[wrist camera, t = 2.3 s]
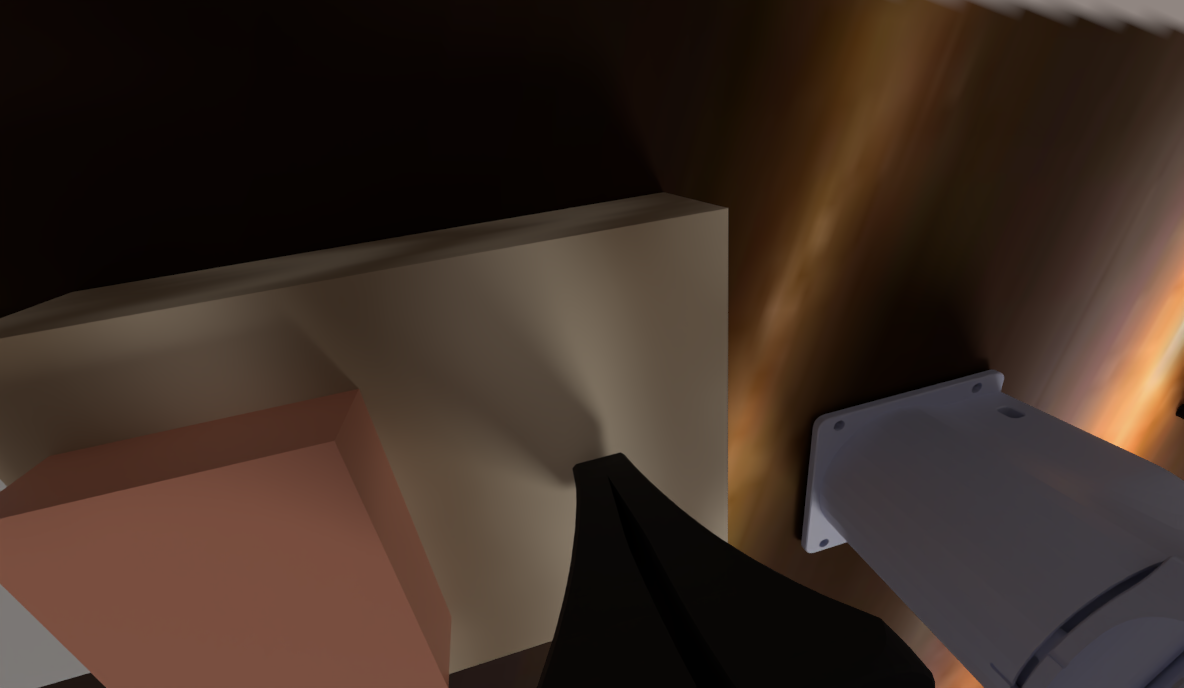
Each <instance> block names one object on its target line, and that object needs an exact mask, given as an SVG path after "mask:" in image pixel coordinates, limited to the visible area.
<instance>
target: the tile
mask: <svg viewBox="0 0 1184 688" xmlns="http://www.w3.org/2000/svg"><path fill="white" fill-rule="evenodd" d="M0 584H1V585H2V586H3V587H4V588H5V589H6V590H7V591H8V592H9V593H10V594H11V595H12V596H13V597H14V598H15V599H16V600H17V601H18V602H19V603H20V604H21V605H22V606H23V607H24V608H25V609H27V610H28V611H29V612H30V613H31V614H32V615H33V616H34V617H35V618H36V619H37V620H38V621H39V622H40V623H41V624H42V625H43V626H44V627H45V628H46V629H47V630H48V631H49V632H50V633H51V634H52V635H53V636H54V637H55V638H56V639H57V640H58V641H59V642H60V643H61V644H62V645H63V646H64V647H65V648H66V649H67V650H68V651H69V652H70V653H72V654H73V655H74V656H75V657H76V658H77V659H78V660H79V661H80V662H81V663H82V664H83V665H84V666H85V667H86V668H87V669H88V670H89V671H90V672H91V673H92V674H93V675H94V676H95V677H96V678H97V679H98V680H99V681H100V682H101V683H102V684H103V685H104V686H105V687H106V688H448V683H449V662H450V641H451V620H452V617H451V614H450V612H449V609H448V607H447V604H446V602H445V600H444V597H443V595H442V592H441V590H440V587H439V585H438V582H437V580H436V577H435V575H434V572H433V570H432V568H431V565H430V563H429V560H428V558H427V555H426V553H425V550H424V548H423V545H422V543H421V540H420V538H419V535H418V533H417V531H416V528H415V526H414V523H413V521H412V518H411V516H410V513H409V511H408V508H407V506H406V503H405V501H404V498H403V496H402V494H401V491H400V489H399V486H398V484H397V481H396V479H395V476H394V474H393V471H392V469H391V466H390V464H389V462H388V459H387V457H386V454H385V452H384V449H383V447H382V444H381V442H380V439H379V437H378V434H377V432H376V429H375V427H374V425H373V422H372V420H371V417H370V415H369V412H368V410H367V407H366V405H365V402H364V400H363V397H362V395H361V392H360V390H359V389H356V390H351V391H346V392H342V393H337V394H333V395H328V396H323V397H319V398H314V399H310V400H305V401H300V402H296V403H291V404H287V405H282V406H277V407H273V408H268V409H264V410H259V411H254V412H250V413H245V414H241V415H236V416H231V417H227V418H222V419H218V420H213V421H208V422H204V423H199V424H195V425H190V426H185V427H181V428H176V429H172V430H167V431H162V432H158V433H153V434H149V435H144V436H139V437H135V438H130V439H126V440H121V441H116V442H112V443H107V444H103V445H98V446H93V447H89V448H84V449H80V450H75V451H70V452H66V453H61V454H57V455H52V456H49V457H47V458H46V459H44V460H43V461H42V462H40V463H39V464H38V465H36V466H35V467H34V468H32V469H31V470H29V471H28V472H27V473H25V474H24V475H23V476H21V477H20V478H18V479H17V480H16V481H14V482H13V483H12V484H10V485H9V486H8V487H6V488H5V489H3V490H2V491H1V492H0Z"/></svg>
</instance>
